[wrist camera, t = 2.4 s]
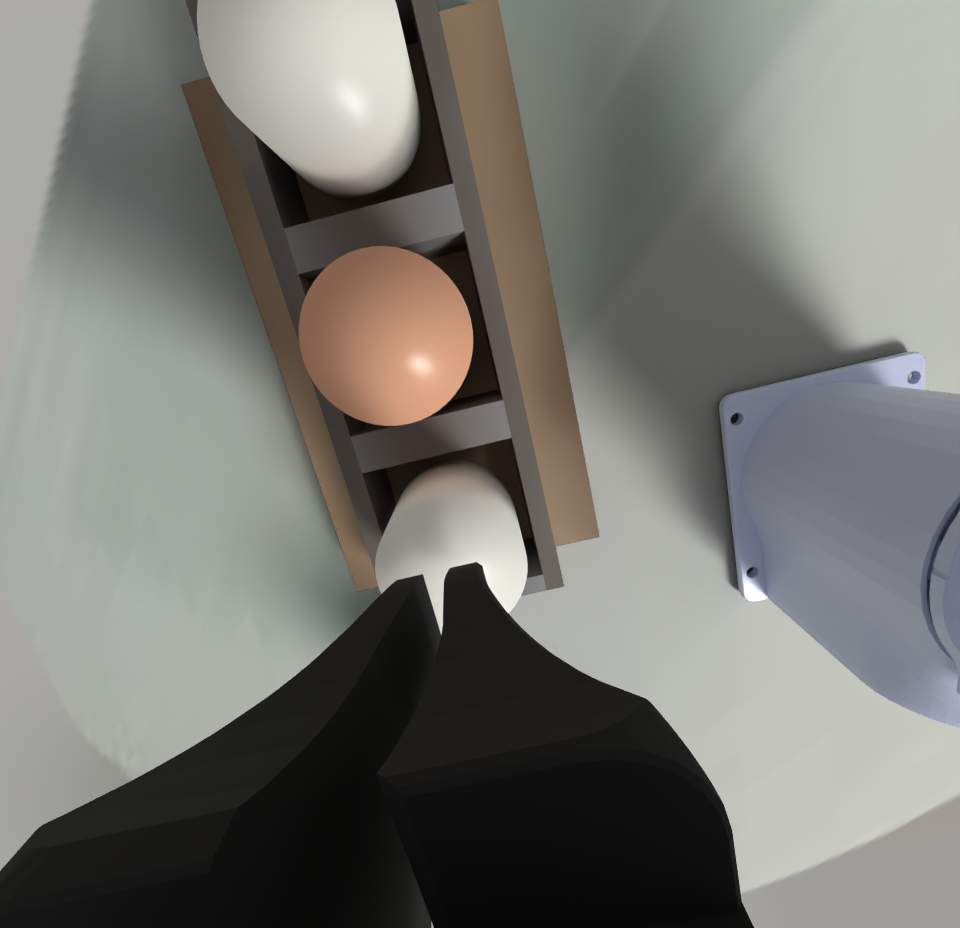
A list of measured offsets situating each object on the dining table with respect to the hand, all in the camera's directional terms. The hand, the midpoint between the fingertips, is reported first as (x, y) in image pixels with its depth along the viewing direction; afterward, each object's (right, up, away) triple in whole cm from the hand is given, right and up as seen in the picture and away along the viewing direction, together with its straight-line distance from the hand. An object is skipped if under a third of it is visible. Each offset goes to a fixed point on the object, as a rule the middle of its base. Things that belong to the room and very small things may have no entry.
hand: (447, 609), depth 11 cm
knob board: (-2, +8, +8) cm, 12 cm away
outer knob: (-3, +13, +3) cm, 13 cm away
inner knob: (0, +2, +6) cm, 6 cm away
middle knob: (-1, +7, +4) cm, 8 cm away
